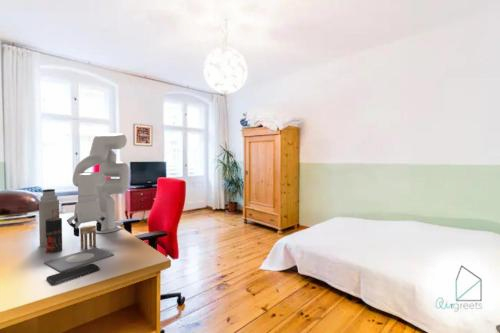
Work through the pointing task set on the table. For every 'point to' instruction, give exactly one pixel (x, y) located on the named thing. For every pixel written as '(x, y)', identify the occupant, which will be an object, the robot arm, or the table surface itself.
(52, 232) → the deodorant
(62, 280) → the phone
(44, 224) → the thermos bottle
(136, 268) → the table surface
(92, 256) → the mat
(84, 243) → the stool
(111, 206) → the robot arm
